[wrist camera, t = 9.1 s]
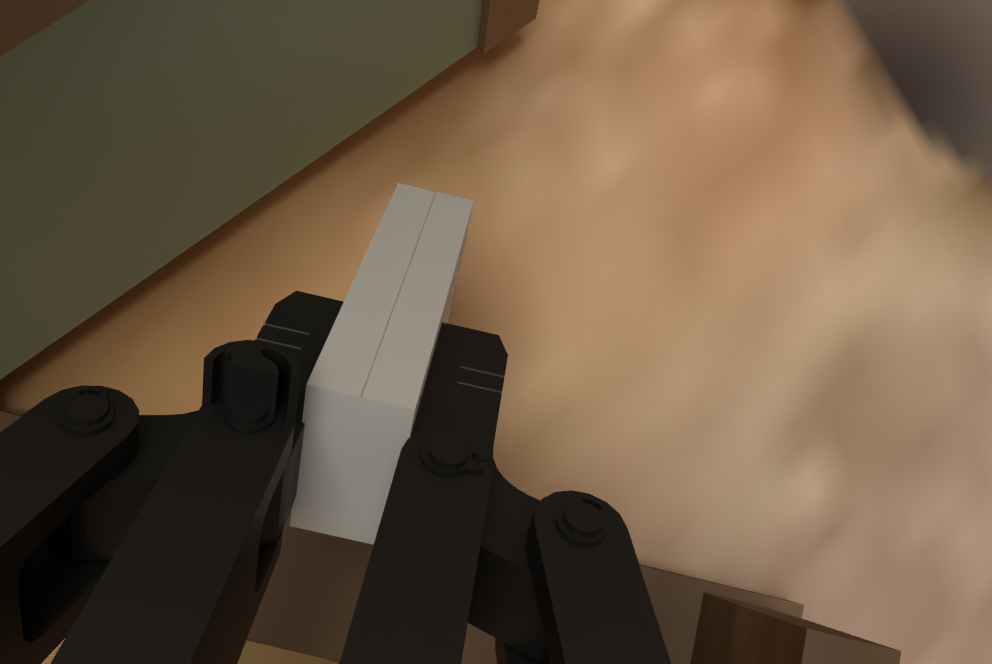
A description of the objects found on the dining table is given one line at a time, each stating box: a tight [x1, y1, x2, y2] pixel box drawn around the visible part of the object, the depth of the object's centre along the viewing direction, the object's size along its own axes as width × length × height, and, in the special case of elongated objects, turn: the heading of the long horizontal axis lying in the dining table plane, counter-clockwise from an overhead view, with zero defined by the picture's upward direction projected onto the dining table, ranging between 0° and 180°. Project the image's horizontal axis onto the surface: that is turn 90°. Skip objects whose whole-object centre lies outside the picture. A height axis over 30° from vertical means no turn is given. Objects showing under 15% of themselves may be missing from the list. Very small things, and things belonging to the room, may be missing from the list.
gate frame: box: [0, 410, 901, 664], centre depth 16 cm, size 23×4×13 cm, turn 77°
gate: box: [0, 0, 539, 380], centre depth 16 cm, size 17×2×11 cm, turn 128°
